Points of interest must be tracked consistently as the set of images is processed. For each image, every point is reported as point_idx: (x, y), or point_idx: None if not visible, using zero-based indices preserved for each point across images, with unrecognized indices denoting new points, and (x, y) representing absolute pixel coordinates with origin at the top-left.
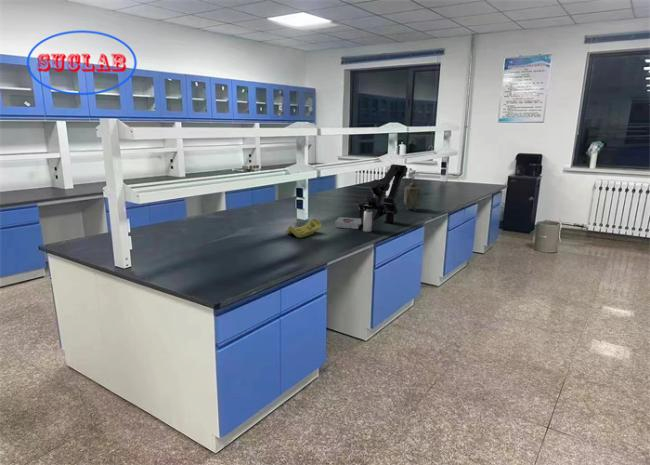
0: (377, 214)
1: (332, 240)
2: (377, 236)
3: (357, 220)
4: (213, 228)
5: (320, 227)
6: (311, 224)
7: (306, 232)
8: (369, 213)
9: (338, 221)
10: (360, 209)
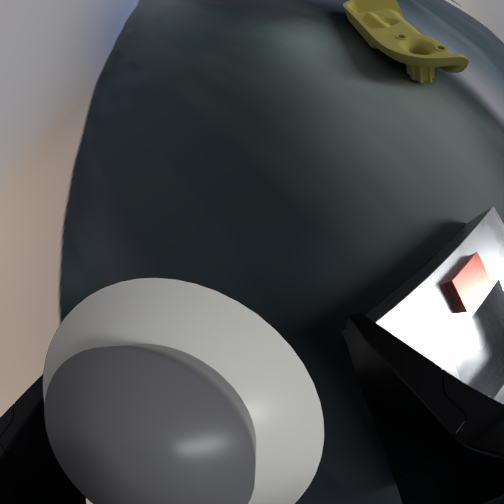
0: (4, 413)
1: (233, 35)
2: (67, 251)
3: None
4: (485, 43)
5: (385, 47)
6: (429, 49)
7: (348, 11)
8: (71, 331)
9: (495, 236)
10: (498, 414)
